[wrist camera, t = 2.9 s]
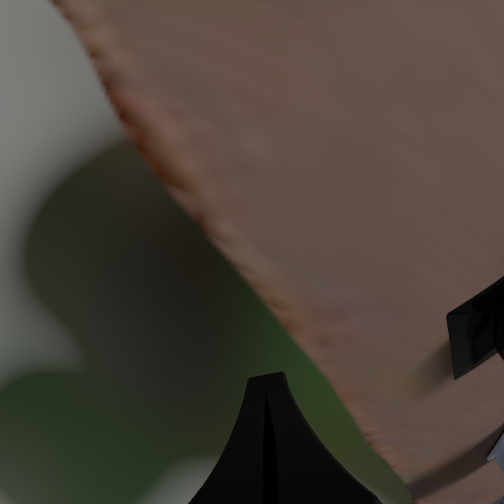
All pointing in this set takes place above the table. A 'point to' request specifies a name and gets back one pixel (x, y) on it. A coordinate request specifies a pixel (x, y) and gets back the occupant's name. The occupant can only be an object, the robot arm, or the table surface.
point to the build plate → (477, 329)
